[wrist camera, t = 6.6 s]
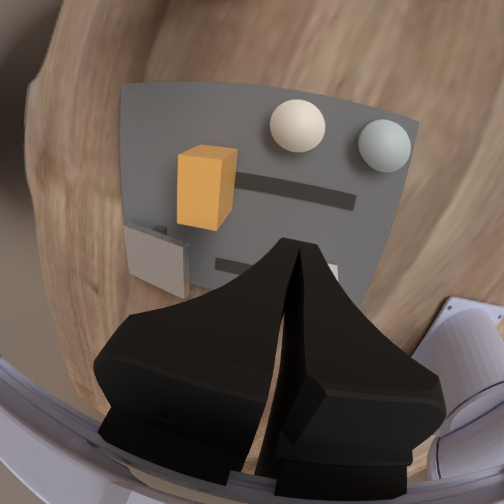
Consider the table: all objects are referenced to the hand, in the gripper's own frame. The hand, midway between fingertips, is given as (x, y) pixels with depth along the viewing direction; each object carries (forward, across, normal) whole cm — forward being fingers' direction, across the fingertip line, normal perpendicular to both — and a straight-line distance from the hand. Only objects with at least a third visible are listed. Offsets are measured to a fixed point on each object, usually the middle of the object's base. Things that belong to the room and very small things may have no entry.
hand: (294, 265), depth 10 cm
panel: (+10, +4, +2) cm, 11 cm away
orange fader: (+8, +6, 0) cm, 10 cm away
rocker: (+7, +10, +6) cm, 14 cm away
